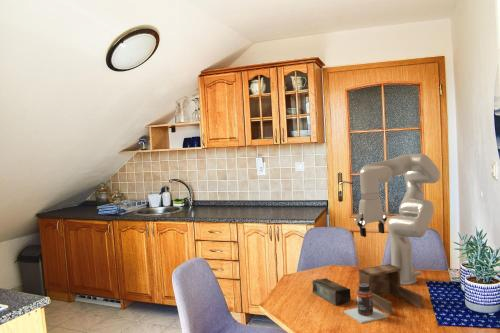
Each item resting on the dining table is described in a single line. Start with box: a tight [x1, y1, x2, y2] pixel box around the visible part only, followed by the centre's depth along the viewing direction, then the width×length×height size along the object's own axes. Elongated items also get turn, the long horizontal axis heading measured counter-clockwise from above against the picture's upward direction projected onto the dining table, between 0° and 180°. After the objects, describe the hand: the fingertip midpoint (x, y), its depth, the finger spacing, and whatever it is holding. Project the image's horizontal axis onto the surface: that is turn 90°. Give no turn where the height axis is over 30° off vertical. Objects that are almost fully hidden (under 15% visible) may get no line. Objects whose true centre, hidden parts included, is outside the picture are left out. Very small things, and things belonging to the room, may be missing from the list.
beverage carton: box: [311, 278, 352, 306], centre depth 191 cm, size 8×19×7 cm, turn 23°
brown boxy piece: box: [358, 263, 424, 316], centre depth 181 cm, size 16×20×13 cm
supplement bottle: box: [356, 283, 374, 315], centre depth 170 cm, size 6×6×11 cm
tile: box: [343, 307, 388, 324], centre depth 171 cm, size 12×12×1 cm
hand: (372, 234), depth 191 cm, fingers open, 9 cm apart
